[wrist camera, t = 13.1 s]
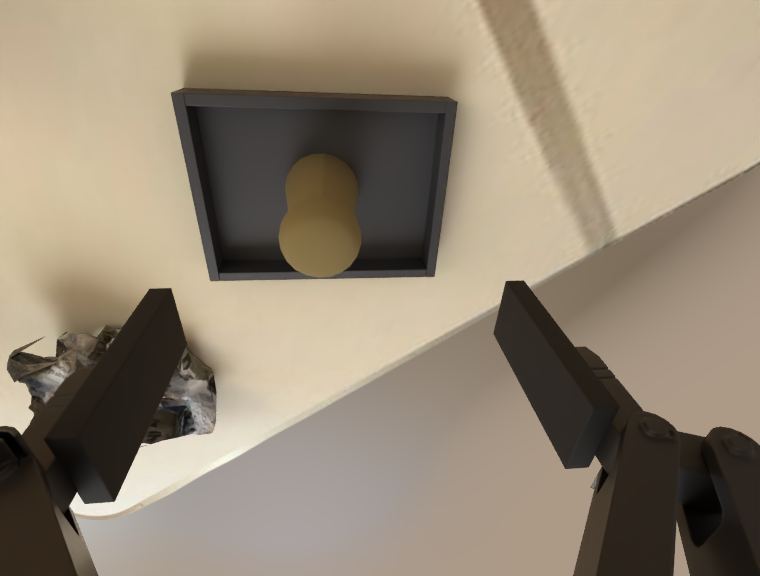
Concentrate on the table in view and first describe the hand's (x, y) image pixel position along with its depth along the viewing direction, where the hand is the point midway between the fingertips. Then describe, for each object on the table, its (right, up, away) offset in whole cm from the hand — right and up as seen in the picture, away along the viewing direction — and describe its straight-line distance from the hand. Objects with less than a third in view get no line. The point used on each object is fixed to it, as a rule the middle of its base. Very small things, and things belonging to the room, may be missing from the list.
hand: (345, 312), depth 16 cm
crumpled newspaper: (-23, -7, +26) cm, 35 cm away
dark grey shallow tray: (-3, +9, +18) cm, 20 cm away
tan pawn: (-3, +9, +17) cm, 20 cm away
